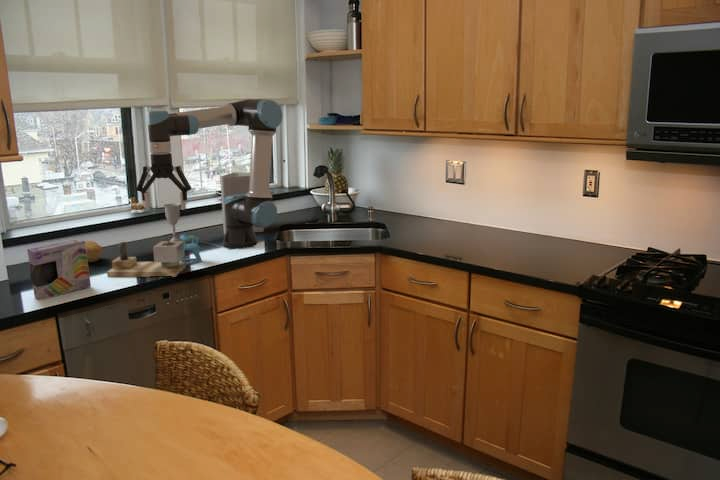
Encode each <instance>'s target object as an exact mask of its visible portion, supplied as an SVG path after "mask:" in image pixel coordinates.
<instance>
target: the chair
mask: <svg viewBox="0 0 720 480" xmlns="http://www.w3.org/2000/svg"><path fill="white" fill-rule="evenodd" d="M190 240H191V243H187V242H188V241H190ZM179 241H184V250H185V251H191V252H192V253H193V255H194V257H195V258H193V257H192V258H182V259H181V260H180V261H179V262H186V266H189V265H194V264H198V263H202V261H203V260H202V257H201V255H200V252H199V249H201V247H200V245H199V244H198V243H199V237H195V235H194V234H189V233H184V234H181V235H180V236H179Z"/></svg>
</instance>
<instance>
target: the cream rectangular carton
mask: <svg viewBox="0 0 720 480" xmlns="http://www.w3.org/2000/svg"><path fill="white" fill-rule="evenodd" d="M249 183H250V172H231V173H228V174H223V175H221V176H220V192H221V193H220V195H221V208H222V209H221V210H222V211H221V212H222V223H223V224H222V225H223V234H224V235H225V232H226V215H225V206H224V205H225V198H226V197H227V196H230V195H237V194H247V193H248V192H249ZM264 229H265V227H264V228H262V227H255V226H253V230H254V233H261V232H263V233H264Z"/></svg>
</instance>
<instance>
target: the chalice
mask: <svg viewBox="0 0 720 480" xmlns="http://www.w3.org/2000/svg"><path fill="white" fill-rule="evenodd" d="M163 207H164V212H165V217H166V220H167V222H168V224H169V225H171V227H172V228H171V230H172V238H171V239H170V241H180V238H178V237H177V236H176V233H177V232H176V225H177V224H178V222H179V218H180V215H181V214H180V207H181V203H175V202H174V203H165V204H163Z"/></svg>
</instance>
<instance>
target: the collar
mask: <svg viewBox="0 0 720 480" xmlns="http://www.w3.org/2000/svg"><path fill="white" fill-rule="evenodd" d="M166 242H171V243H172V246H165V243H166ZM185 251H186V250H184V241H183V240H182V241H181V240H179V241H171V240H169V241H168V240H167V241H166V240H165V241H164V240H163V241H162V240H161V241H159V242H158V243H156V244H155V245H154V246H152V252H153V262H179V261H180V260H181V259H184V257H186V254H185Z"/></svg>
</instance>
